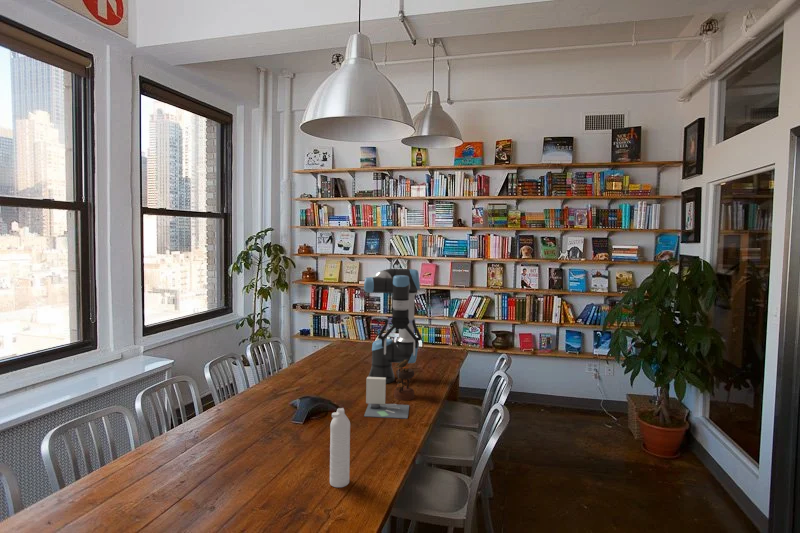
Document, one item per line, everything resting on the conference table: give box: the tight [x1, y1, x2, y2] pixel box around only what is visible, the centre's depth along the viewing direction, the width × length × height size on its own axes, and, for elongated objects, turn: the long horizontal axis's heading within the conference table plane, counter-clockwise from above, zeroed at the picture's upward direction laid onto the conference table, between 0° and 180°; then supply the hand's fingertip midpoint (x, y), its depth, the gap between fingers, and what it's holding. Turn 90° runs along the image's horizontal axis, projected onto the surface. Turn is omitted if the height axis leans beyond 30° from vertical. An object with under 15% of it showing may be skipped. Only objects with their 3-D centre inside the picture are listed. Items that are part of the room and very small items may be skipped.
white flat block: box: [365, 376, 397, 408], centre depth 213 cm, size 4×14×14 cm, turn 86°
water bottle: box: [329, 407, 351, 488], centre depth 146 cm, size 9×6×25 cm
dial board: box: [363, 403, 410, 420], centre depth 211 cm, size 16×20×1 cm
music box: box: [393, 360, 415, 401], centre depth 231 cm, size 15×11×20 cm
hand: (399, 354), depth 207 cm, fingers open, 13 cm apart
